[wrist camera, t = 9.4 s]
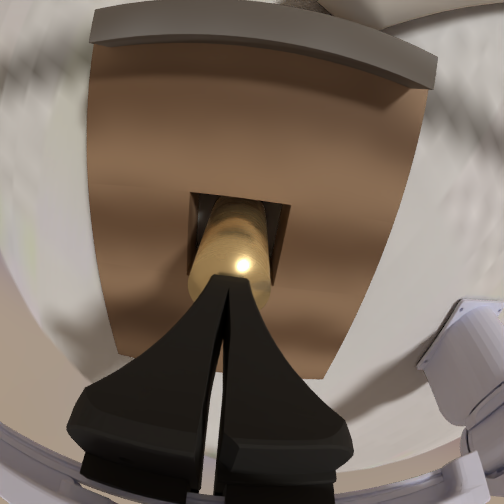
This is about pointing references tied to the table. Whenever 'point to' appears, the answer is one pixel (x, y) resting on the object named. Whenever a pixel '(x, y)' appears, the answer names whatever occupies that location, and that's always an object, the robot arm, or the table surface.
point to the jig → (247, 157)
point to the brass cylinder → (234, 247)
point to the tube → (393, 10)
